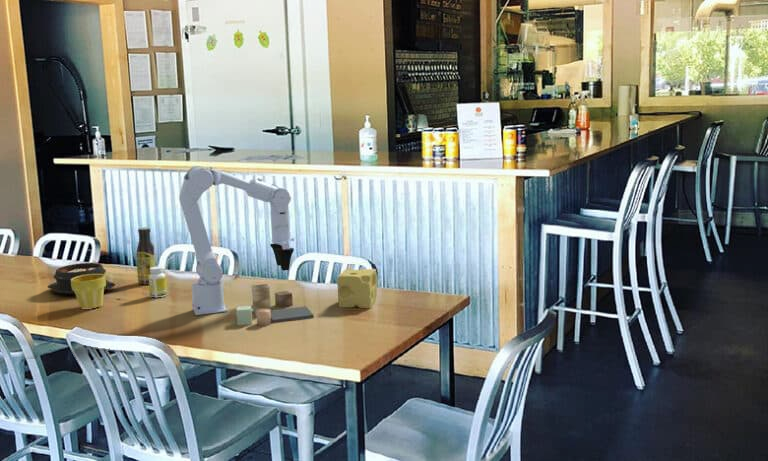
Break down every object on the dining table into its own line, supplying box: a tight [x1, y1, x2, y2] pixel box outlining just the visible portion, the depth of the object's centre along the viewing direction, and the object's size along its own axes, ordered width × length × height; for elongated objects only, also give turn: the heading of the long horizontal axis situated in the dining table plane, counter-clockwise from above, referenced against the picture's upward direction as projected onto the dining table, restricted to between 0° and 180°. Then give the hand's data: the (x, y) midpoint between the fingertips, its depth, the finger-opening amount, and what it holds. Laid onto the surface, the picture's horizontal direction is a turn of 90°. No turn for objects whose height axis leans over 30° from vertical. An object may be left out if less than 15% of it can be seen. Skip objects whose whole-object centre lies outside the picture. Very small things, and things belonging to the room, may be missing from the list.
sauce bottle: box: [135, 226, 156, 285], centre depth 278 cm, size 7×6×20 cm
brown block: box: [255, 309, 272, 327], centre depth 226 cm, size 4×4×4 cm
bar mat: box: [270, 305, 314, 324], centre depth 233 cm, size 12×10×1 cm
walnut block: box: [274, 290, 294, 309], centre depth 244 cm, size 4×4×4 cm
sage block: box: [236, 305, 253, 326], centre depth 228 cm, size 4×4×4 cm
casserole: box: [47, 262, 116, 295], centre depth 272 cm, size 25×19×8 cm
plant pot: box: [71, 274, 107, 309], centre depth 250 cm, size 10×10×10 cm
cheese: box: [336, 268, 378, 309], centre depth 243 cm, size 10×11×10 cm
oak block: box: [251, 283, 272, 316], centre depth 238 cm, size 4×4×8 cm
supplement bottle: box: [148, 265, 168, 298], centre depth 260 cm, size 5×5×10 cm
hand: (283, 267), depth 250 cm, fingers open, 7 cm apart
